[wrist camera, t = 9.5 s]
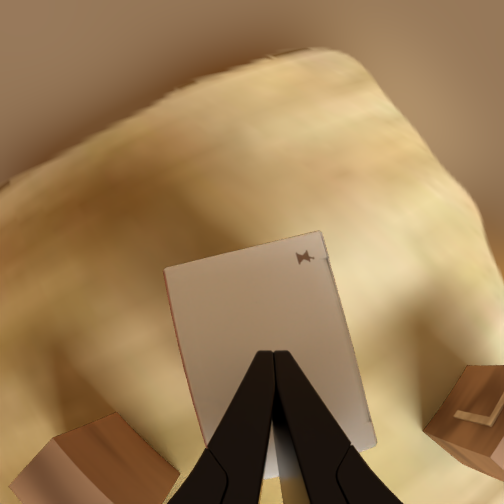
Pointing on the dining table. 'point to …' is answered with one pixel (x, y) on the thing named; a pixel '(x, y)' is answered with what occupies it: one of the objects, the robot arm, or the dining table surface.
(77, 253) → the dining table surface
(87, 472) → the walnut block one
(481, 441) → the walnut block seven
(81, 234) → the dining table surface
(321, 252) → the small box
